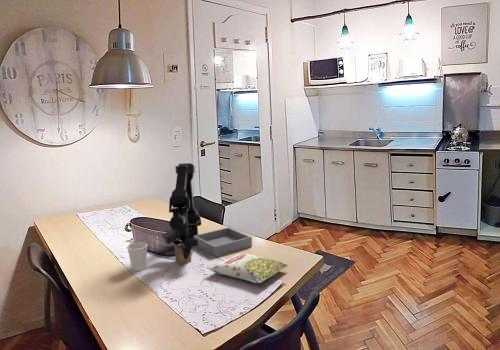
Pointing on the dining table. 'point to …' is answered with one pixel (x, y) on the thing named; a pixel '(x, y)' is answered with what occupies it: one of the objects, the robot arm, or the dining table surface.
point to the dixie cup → (138, 255)
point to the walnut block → (181, 255)
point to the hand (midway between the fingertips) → (183, 257)
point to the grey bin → (223, 241)
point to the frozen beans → (248, 267)
